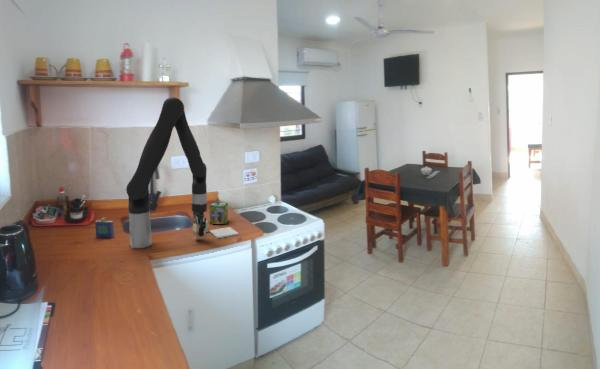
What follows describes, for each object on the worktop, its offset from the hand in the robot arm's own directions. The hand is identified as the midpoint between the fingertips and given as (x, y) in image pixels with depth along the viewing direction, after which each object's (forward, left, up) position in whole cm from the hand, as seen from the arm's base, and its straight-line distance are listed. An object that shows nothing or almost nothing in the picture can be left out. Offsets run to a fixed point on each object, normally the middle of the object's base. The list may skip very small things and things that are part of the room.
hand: (199, 233), depth 186 cm
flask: (-40, +28, -4) cm, 49 cm away
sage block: (+6, +13, -4) cm, 15 cm away
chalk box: (+20, +24, -4) cm, 31 cm away
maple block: (0, 0, -1) cm, 1 cm away
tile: (+15, +4, -4) cm, 16 cm away
